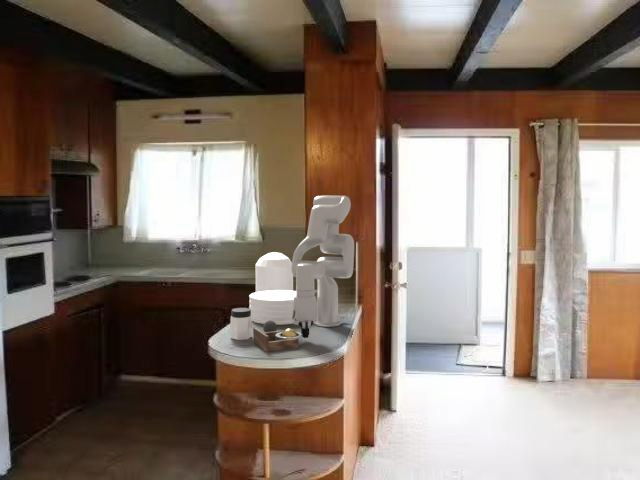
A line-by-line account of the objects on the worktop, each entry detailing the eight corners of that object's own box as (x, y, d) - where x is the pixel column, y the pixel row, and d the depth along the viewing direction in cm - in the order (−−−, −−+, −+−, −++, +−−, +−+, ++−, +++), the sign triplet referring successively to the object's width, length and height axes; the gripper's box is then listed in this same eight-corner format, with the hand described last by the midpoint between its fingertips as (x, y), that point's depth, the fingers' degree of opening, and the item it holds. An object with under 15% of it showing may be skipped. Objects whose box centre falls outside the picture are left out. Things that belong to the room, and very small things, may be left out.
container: (251, 299, 319) (250, 250, 316) (286, 296, 327) (286, 249, 324) (261, 306, 300) (261, 254, 297) (298, 303, 308) (298, 253, 305)
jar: (255, 337, 236) (255, 309, 235) (240, 341, 230) (240, 312, 229) (242, 333, 242) (242, 306, 241) (227, 337, 236) (226, 309, 235)
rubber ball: (273, 331, 246) (273, 318, 245) (279, 335, 240) (279, 321, 240) (261, 333, 243) (261, 319, 243) (266, 336, 238) (265, 322, 237)
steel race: (295, 338, 235) (295, 330, 235) (307, 344, 226) (307, 336, 225) (271, 341, 230) (271, 333, 230) (282, 348, 220) (282, 339, 220)
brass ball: (292, 326, 231) (279, 328, 229) (299, 329, 226) (285, 331, 223) (293, 340, 232) (280, 342, 229) (299, 343, 227) (286, 346, 224)
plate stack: (299, 326, 257) (299, 301, 256) (241, 323, 263) (241, 299, 262) (312, 313, 284) (312, 291, 283) (259, 310, 290) (259, 288, 289)
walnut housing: (283, 338, 235) (283, 324, 234) (298, 347, 222) (298, 332, 221) (253, 342, 229) (253, 327, 229) (266, 351, 216) (266, 336, 215)
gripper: (317, 290, 236) (317, 333, 238) (284, 293, 229) (285, 337, 231) (325, 293, 229) (325, 337, 231) (292, 296, 223) (292, 341, 224)
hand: (305, 337), depth 231 cm, fingers closed
